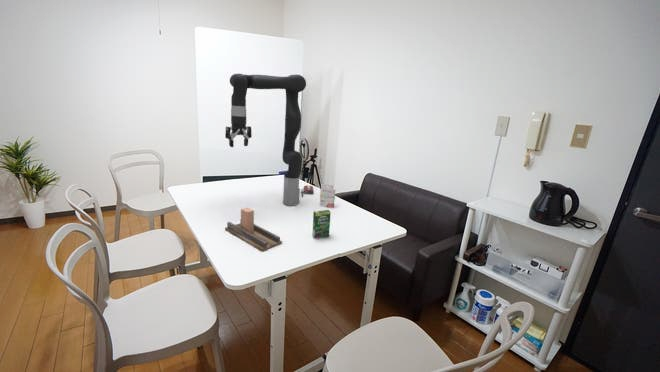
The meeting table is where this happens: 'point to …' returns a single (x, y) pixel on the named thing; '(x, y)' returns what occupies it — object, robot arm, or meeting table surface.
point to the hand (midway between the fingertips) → (238, 146)
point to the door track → (255, 236)
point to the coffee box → (321, 223)
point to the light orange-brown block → (247, 219)
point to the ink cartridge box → (327, 195)
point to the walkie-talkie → (307, 190)
